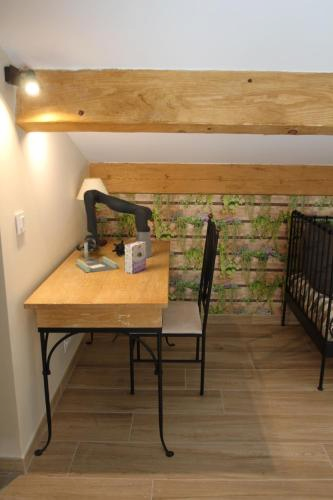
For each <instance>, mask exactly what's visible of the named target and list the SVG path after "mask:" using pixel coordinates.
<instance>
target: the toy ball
mask: <svg viewBox="0 0 333 500" xmlns="http://www.w3.org/2000/svg"><path fill="white" fill-rule="evenodd" d="M124 241H125V240H121V241H120V242H119V243H113V246H114V249H112V250H111V251H112V253H115V254H116V255H117V256H118V257H121V256H122V255H123V254H124V255H125V245H126V244H124Z"/></svg>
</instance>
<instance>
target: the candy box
mask: <svg viewBox="0 0 333 500" xmlns="http://www.w3.org/2000/svg"><path fill="white" fill-rule="evenodd" d="M124 245H125V254H124V273H125V274H130V275H134V274H137V273H139V272H142V271H143V270H146V269H147V258H146V242H140V241H137V240H136V241H134V242H132V243H131V242H130V243H128V244H127V243H126V244H124Z"/></svg>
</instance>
